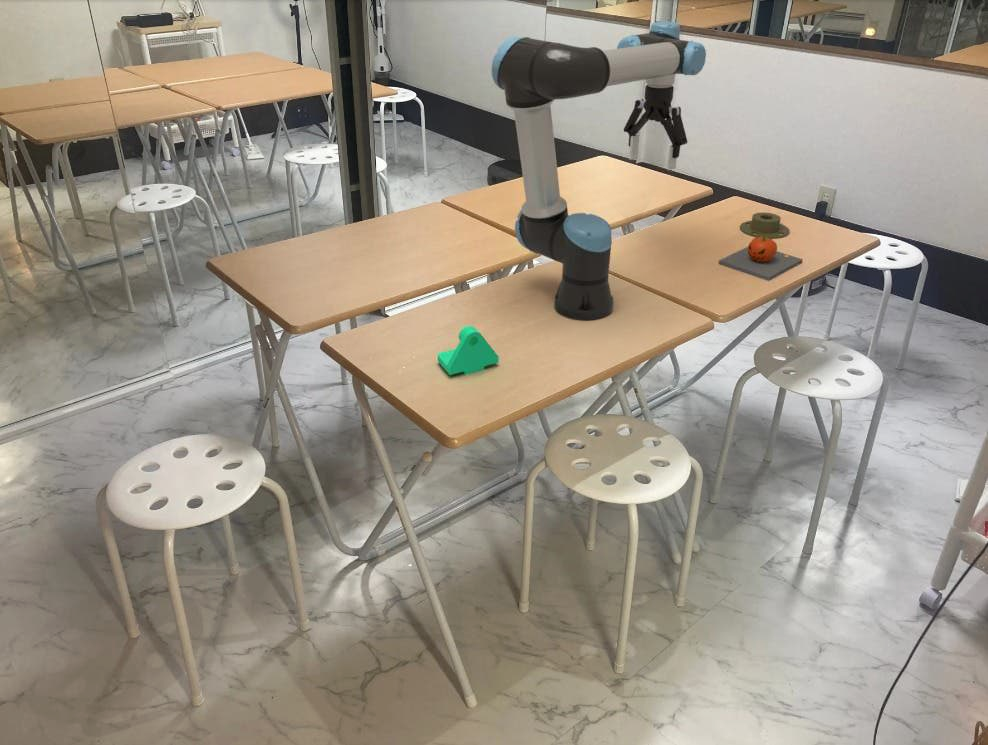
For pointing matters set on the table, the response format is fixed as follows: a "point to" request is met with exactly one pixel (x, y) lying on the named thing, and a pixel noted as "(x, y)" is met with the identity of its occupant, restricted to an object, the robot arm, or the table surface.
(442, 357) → the camera mount
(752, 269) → the mat
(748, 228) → the flange
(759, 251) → the pumpkin
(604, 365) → the table surface
